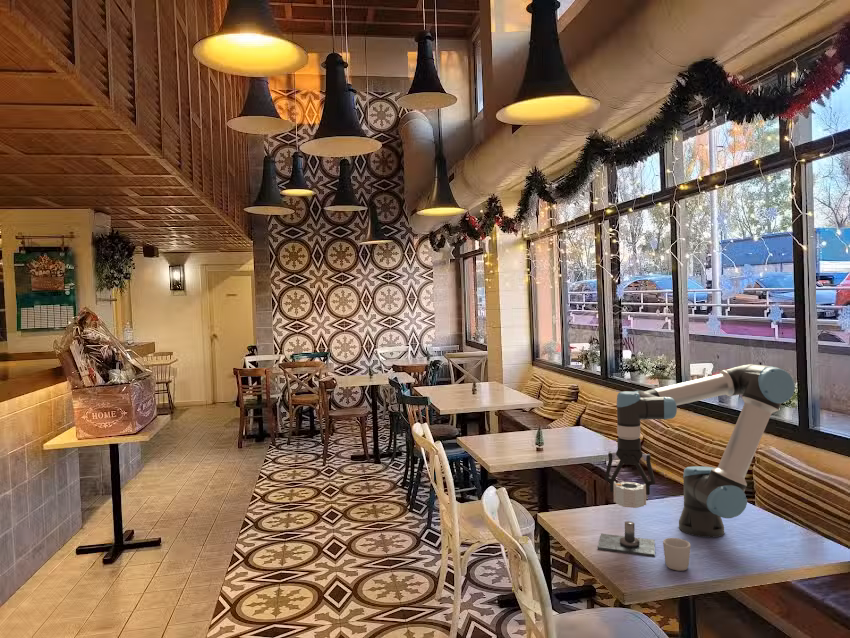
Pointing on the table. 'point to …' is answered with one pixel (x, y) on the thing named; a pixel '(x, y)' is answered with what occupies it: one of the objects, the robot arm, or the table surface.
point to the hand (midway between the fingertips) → (629, 502)
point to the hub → (630, 494)
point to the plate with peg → (627, 542)
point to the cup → (676, 553)
